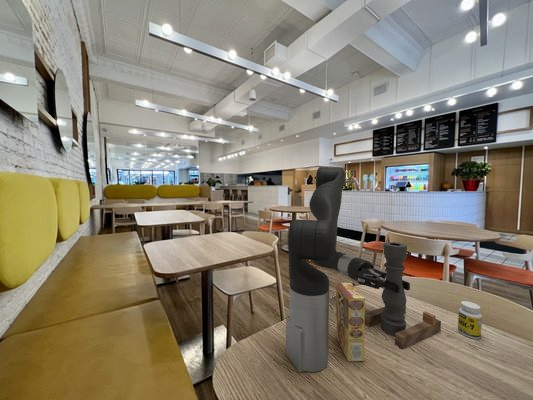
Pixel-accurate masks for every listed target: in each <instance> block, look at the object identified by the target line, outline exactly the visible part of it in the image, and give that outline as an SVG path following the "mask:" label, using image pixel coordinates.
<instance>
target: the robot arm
mask: <svg viewBox="0 0 533 400" xmlns="http://www.w3.org/2000/svg"><path fill="white" fill-rule="evenodd" d="M345 183H346V172H345V170H344V169H343V167H340V166H339V167H338V166H320V167H318V169H317V171H316V174H315V189H314V191H313V192H312V195H311V196H310V199H309V203H308V204H309V209H310V212H311V214H312V215H313V217H314V218H315V219H316V220H314V219H294V220H292V221H291V222H290V224H289V227H288V231H287V249H288V252H287V253H288V254H287V255H288V276H289V278H288V279H289V315H288V316H286V317H285V354H286V357H288V359H289V360H290V362H291V363H292V364H293V366H294V367H295V368H296V370H297V372H299V373H302V372H309V373H315V372H320V371H323V370H324V369H325V368H326V367H327V366H328V364H329V329H330V328H329V327H330V326H329V325H330V322H329V319H330V318H329V317H330V314H329V313H330V279H329V276H328V275H327V274H326V273H325V272H324V271H321V270H320V269H318V268H316V267H314V266H312V264H310V263H309V262H308V261H312V263H313V264H314V265H316V266H318V267H322V268H325V269H326V268H327V269H330V270H331V269H332V270H334V271H336V272H338V273H341V274H342V275H343V276H345V277H347V278H350V279H351V280H354V281H356V282H357V284H359V285H363V286H366V287H369V288H372V289H376V290H379V289H380V288H381V289H382V290H383V289H389V290H391V291H393V292H395V293H400V285H398V284H395V283H392V282H389V281H386V279H387V269H386V268H385V270H381V269H380V268H376V267H374V265H373V264H372V263H371V261H369V260H366V259H364V258H360V257H357V256H356V255H350V254H347V253H343V252H341V251H337V237H338V221H339V215H340V209H341V206H342V205H341V204H342V197H343V190H344V186H345ZM307 260H308V261H307ZM402 283H403V287H404V291H409V290H411V283H410V282H409V281H406V280H404V279H402Z"/></svg>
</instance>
